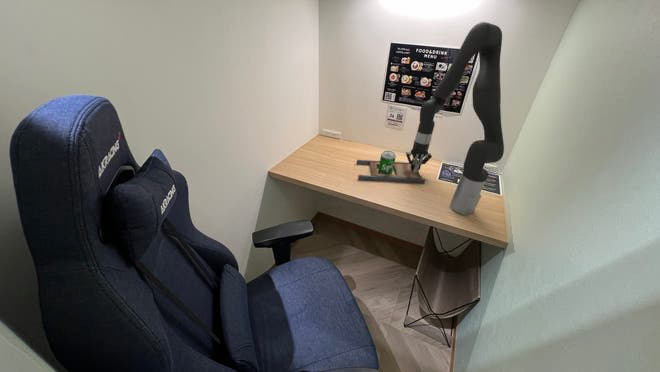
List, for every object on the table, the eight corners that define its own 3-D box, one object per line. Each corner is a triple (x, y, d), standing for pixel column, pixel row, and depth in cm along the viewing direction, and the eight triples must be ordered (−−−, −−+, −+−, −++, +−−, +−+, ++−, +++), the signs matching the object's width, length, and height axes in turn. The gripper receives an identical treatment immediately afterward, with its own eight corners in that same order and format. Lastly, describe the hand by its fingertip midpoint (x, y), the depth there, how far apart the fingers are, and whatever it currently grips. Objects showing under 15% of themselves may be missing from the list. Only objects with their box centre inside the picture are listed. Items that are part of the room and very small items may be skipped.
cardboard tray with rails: (414, 167, 145) (417, 155, 141) (420, 181, 134) (424, 168, 129) (369, 165, 146) (371, 152, 141) (372, 178, 134) (374, 165, 130)
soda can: (376, 174, 139) (379, 154, 132) (380, 168, 144) (384, 148, 137) (389, 178, 136) (393, 158, 129) (393, 171, 141) (398, 152, 135)
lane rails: (416, 166, 147) (417, 163, 146) (424, 183, 133) (425, 179, 131) (356, 163, 147) (357, 159, 146) (358, 180, 133) (358, 176, 132)
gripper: (434, 137, 131) (425, 167, 141) (407, 136, 132) (400, 165, 141) (438, 144, 125) (429, 174, 135) (410, 142, 125) (403, 173, 135)
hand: (414, 170), depth 138 cm, fingers closed on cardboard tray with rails, 2 cm apart
